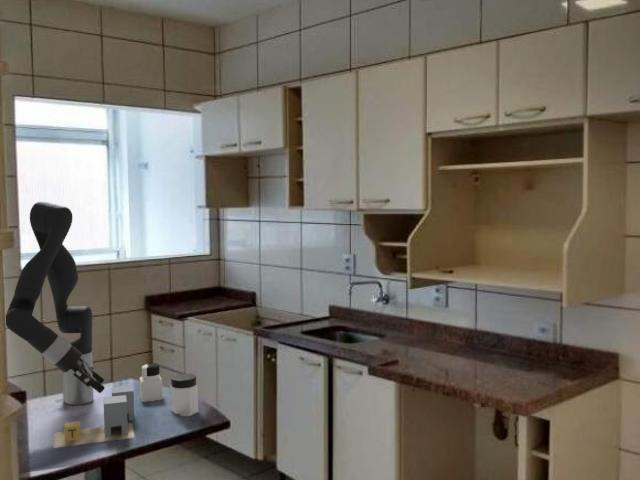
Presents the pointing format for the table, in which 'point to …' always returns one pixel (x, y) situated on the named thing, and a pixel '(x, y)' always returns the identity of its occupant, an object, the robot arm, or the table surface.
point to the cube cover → (129, 396)
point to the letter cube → (72, 431)
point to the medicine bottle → (151, 383)
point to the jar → (184, 394)
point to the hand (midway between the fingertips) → (102, 386)
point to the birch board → (92, 436)
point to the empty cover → (115, 414)
